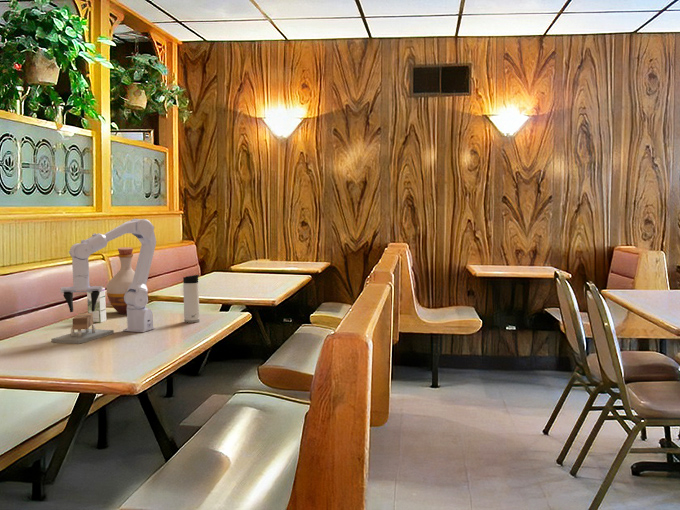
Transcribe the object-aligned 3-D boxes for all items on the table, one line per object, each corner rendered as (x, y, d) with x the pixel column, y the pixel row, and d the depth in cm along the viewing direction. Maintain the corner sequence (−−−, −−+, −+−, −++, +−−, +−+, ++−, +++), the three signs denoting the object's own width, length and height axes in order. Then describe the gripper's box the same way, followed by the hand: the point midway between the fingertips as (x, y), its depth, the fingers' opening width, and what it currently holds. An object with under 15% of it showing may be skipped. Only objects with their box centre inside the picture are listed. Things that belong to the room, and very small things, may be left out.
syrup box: (106, 320, 288) (105, 287, 287) (100, 322, 282) (99, 288, 281) (94, 320, 289) (92, 287, 288) (87, 322, 283) (86, 288, 282)
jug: (105, 310, 314) (102, 247, 312) (144, 307, 322) (142, 245, 319) (109, 317, 296) (106, 249, 294) (150, 314, 304) (148, 248, 301)
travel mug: (196, 323, 279) (195, 275, 278) (181, 322, 280) (180, 275, 279) (202, 320, 285) (201, 274, 284) (188, 320, 287) (186, 273, 285)
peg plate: (113, 333, 260) (113, 322, 259) (78, 343, 241) (78, 332, 240) (87, 331, 263) (87, 321, 263) (51, 342, 244) (50, 330, 244)
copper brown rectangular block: (87, 329, 246) (86, 318, 246) (72, 329, 245) (72, 318, 245) (92, 323, 258) (92, 313, 258) (79, 323, 257) (78, 313, 257)
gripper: (103, 273, 255) (104, 309, 257) (62, 274, 253) (64, 310, 254) (99, 275, 249) (101, 311, 250) (58, 276, 246) (60, 313, 247)
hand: (82, 311), depth 251 cm, fingers open, 7 cm apart
